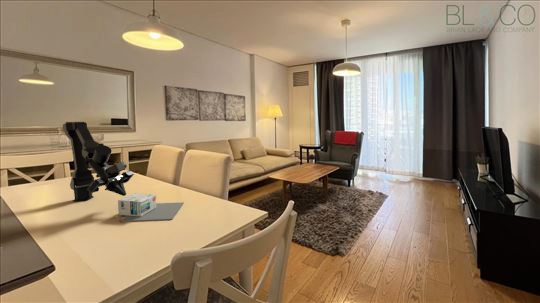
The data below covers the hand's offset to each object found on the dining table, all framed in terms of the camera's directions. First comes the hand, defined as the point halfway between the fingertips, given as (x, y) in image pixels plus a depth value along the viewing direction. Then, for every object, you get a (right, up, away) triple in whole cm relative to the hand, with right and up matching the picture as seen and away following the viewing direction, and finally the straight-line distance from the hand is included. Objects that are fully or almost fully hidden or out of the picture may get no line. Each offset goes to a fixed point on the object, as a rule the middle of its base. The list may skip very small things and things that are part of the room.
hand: (125, 195), depth 108 cm
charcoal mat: (+12, -8, +1) cm, 15 cm away
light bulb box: (0, -4, +1) cm, 4 cm away
